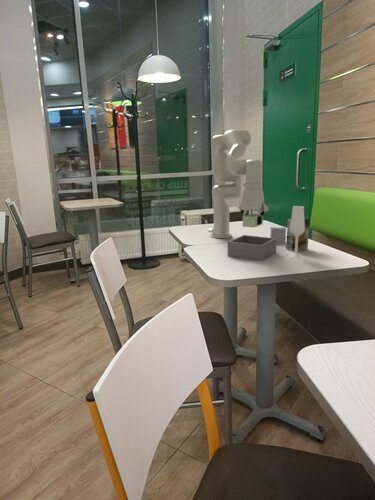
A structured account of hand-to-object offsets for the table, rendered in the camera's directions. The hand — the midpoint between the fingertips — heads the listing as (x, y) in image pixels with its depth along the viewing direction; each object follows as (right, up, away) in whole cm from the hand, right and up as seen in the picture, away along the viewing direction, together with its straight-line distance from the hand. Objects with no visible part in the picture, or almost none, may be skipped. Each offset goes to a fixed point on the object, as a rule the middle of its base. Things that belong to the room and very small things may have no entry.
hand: (252, 223), depth 173 cm
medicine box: (+19, -9, +27) cm, 34 cm away
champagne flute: (+20, -16, -2) cm, 26 cm away
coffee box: (+25, -13, +11) cm, 30 cm away
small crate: (0, -1, 0) cm, 1 cm away
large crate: (0, -15, +4) cm, 15 cm away
